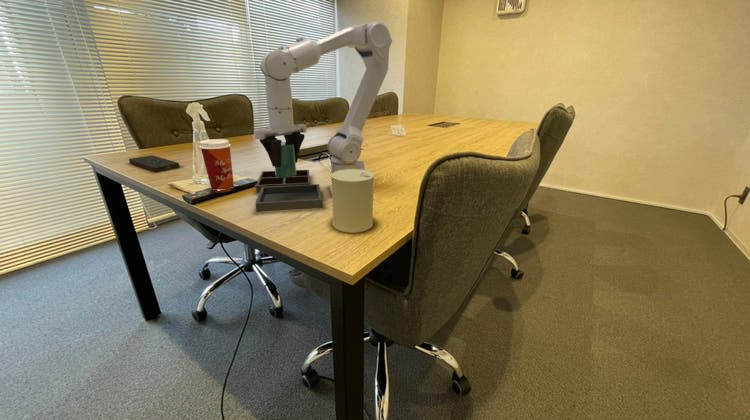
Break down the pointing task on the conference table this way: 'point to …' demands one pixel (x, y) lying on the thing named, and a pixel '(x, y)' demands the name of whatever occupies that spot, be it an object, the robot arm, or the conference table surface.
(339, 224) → the can
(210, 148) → the paper cup
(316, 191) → the tray
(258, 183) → the cup rack
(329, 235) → the conference table surface
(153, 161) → the smart home device
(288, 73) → the robot arm
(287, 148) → the teal cup
